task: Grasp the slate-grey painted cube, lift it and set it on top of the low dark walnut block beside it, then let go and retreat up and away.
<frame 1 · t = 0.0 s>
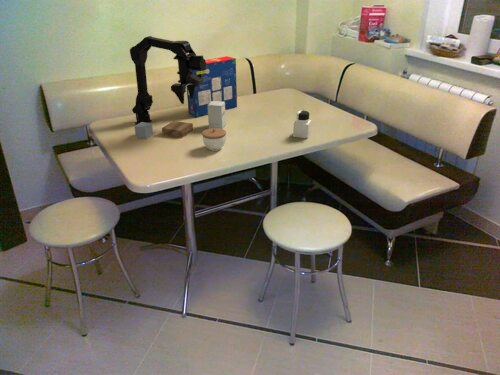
hand: (187, 101, 203), 15 cm above the table, fingers open, 9 cm apart
slate cube: (144, 136, 203), on the table
walnut block: (178, 133, 207), on the table
supplement box: (217, 127, 213), on the table
lidded jar: (214, 148, 189), on the table
blue board game box: (213, 111, 236), on the table
medicine bottle: (301, 135, 201), on the table
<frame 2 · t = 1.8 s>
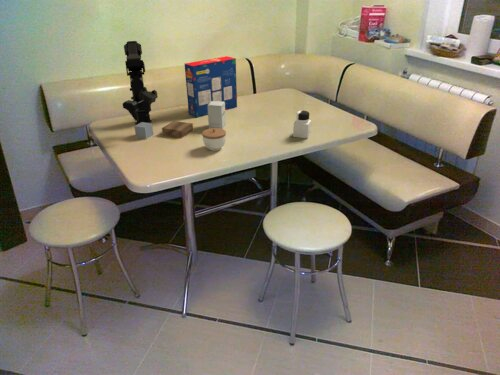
hand: (142, 117, 199), 9 cm above the table, fingers open, 9 cm apart
nothing on the table moved.
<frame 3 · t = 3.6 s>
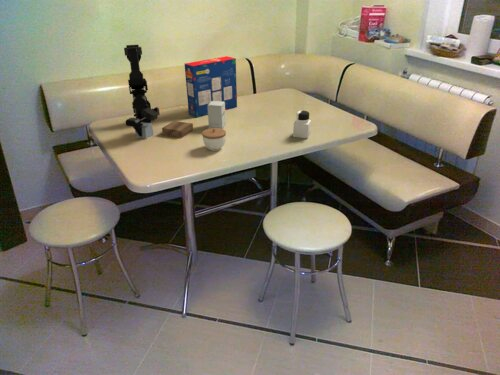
hand: (144, 134, 202), 1 cm above the table, fingers closed on slate cube, 6 cm apart
slate cube: (144, 136, 203), on the table, touching gripper
everything else where it was.
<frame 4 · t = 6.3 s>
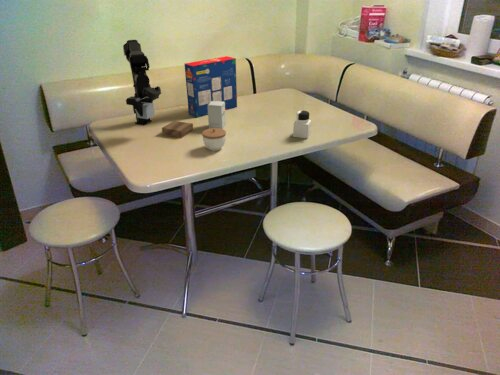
hand: (145, 114, 198), 11 cm above the table, fingers closed on slate cube, 6 cm apart
slate cube: (145, 116, 199), point 10 cm above the table, touching gripper
everything else where it was.
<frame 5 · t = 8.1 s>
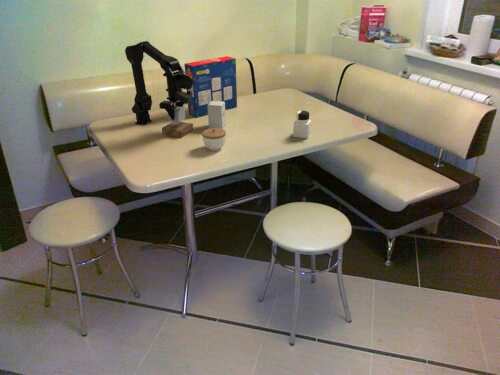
hand: (176, 117, 203), 8 cm above the table, fingers closed on slate cube, 6 cm apart
slate cube: (176, 119, 203), point 7 cm above the table, touching gripper
everything else where it was.
when the fingers open (6 cm above the table, at t = 9.2 s): slate cube drops 2 cm, resting on walnut block.
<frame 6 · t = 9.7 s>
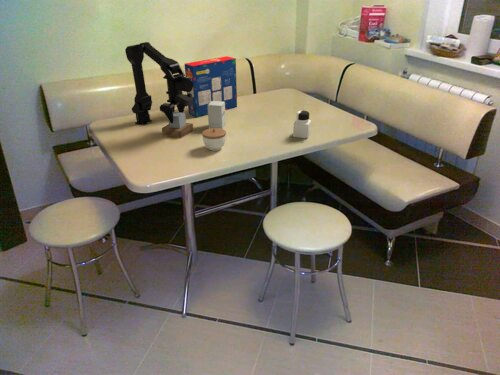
hand: (176, 120, 204), 6 cm above the table, fingers open, 9 cm apart
slate cube: (177, 125, 205), point 4 cm above the table, touching walnut block
walnut block: (178, 133, 207), on the table, touching slate cube
everything else where it was.
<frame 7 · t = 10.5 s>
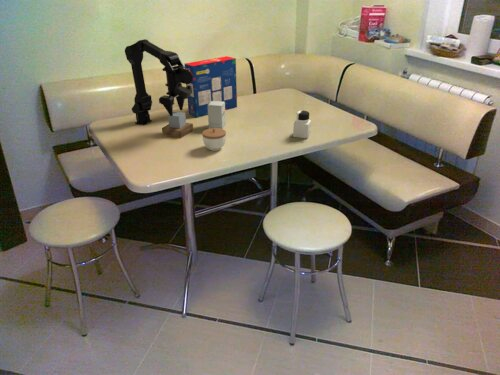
hand: (176, 112, 202), 10 cm above the table, fingers open, 9 cm apart
nothing on the table moved.
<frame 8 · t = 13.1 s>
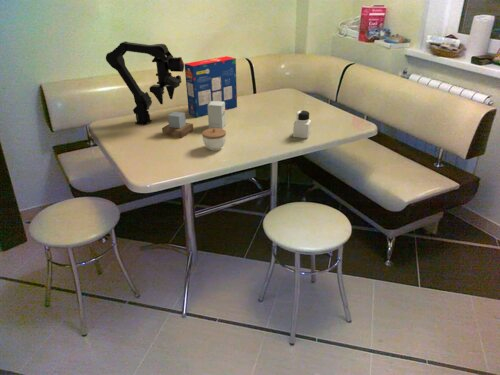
hand: (166, 101, 212), 12 cm above the table, fingers open, 9 cm apart
nothing on the table moved.
at the end: slate cube 0.2 cm off-centre on the walnut block, point 4.0 cm above the walnut block's base; slate cube tilted 1°; the gripper is holding nothing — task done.
